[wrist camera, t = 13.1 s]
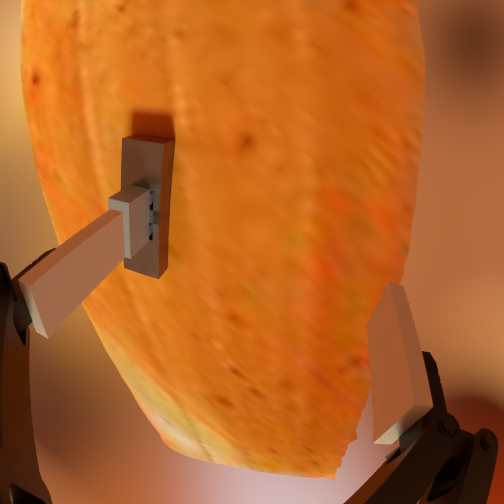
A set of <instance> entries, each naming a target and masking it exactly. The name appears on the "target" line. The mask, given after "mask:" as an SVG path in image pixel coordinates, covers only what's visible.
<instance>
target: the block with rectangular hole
mask: <svg viewBox="0 0 504 504" xmlns="http://www.w3.org/2000/svg"><path fill="white" fill-rule="evenodd" d="M174 145H175V140H173V139H167V138H160V137H152V136H145V135H137V134H135V135H131V136H128V137H125V138H122V160H121V190H123V189H125V188H126V187H128V186H130V185H132V186H137V187H142V188H147V189H150V191H154V200H153V203H152V204H151V205H150V208H149V223H153V233H152V234H151V235H150V236H149V242H148V243H147V244H146V245H145V246H144V247H142V248H141V249H140V250H139V251H138V252H137V253H136V254H135V255H134V256H133V257H132V258H131V259H129V258H126V257H125V259H124V268H126V269H129V270H132V271H135V272H138V273H141V274H144V275H147V276H150V277H153V278H156V279H159V278H160V277H161V276H162V274H163V273H164V272H165V271H166V269H167V260H168V229H169V209H170V193H171V179H172V166H173V155H174Z"/></svg>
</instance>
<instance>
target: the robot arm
mask: <svg viewBox="0 0 504 504" xmlns="http://www.w3.org/2000/svg"><path fill="white" fill-rule="evenodd" d="M124 259H125V248H124V226H123V212H121V211H117V210H113V209H110V210H109V211H107V212H106V213H105V214H103V215H102V216H100V217H99V218H97V219H96V220H94V221H93V222H92V223H90V224H89V225H87V226H86V227H85V228H83V229H82V230H80V231H79V232H78V233H76V234H75V235H74V236H72V237H71V238H70V239H68V240H67V241H66V242H64V243H63V244H62V245H60V246H59V247H58V248H54V249H51V250H49V251H47V252H45V253H44V254H42V255H41V256H40V257H39V258H38V260H37V259H36V260H35V261H34V262H32V264H30V265H29V266H27V267H26V268H25V269H24V270H23V271H21V272H20V273H19V274H18V275H17V276H15V277H14V278H13V279H12V280H11V277H10V274H9V271H8V268H7V265H6V264H5V263H3V262H0V504H12V503H13V504H52V501H51V497H50V494H49V491H48V489H47V487H46V485H45V483H44V482H43V480H42V478H41V476H40V472H39V467H38V461H37V455H36V449H35V443H34V435H33V426H32V417H31V403H30V384H29V383H30V382H29V346H30V343H29V342H30V329H29V327H28V326H29V325H30V323H32V322H33V324H34V326H35V329H36V332H38V333H40V334H41V335H43V336H45V337H46V338H49V337H50V336H51V335H52V334H53V333H54V332H55V331H56V329H57V328H58V327H59V326H60V325H61V324H62V323H63V322H64V321H65V319H66V318H67V317H68V316H69V315H70V314H71V313H72V312H73V311H74V310H75V309H76V308H77V306H78V305H79V304H80V303H81V302H82V301H83V300H84V299H85V298H86V297H87V296H88V295H89V294H90V293H91V292H92V291H93V290H94V289H95V288H96V287H97V286H98V285H99V284H100V283H101V282H102V280H103V279H104V278H105V277H106V276H107V275H108V274H109V273H110V272H111V271H112V270H113V269H114V268H115V267H116V266H118V265H119V264H120V263H121V262H122V261H123V260H124ZM367 333H368V343H369V354H370V367H371V383H372V403H373V443H378V444H392V443H393V442H394V441H396V440H397V439H398V438H399V441H400V446H399V447H398V448H397V449H395V450H394V451H393V452H391V453H390V454H389V455H387V456H386V458H388V459H387V460H386V461H385V462H384V463H383V464H382V466H380V468H379V469H378V470H377V471H376V472H375V473H374V474H373V475H372V476H371V477H370V478H369V479H368V481H366V482H365V483H364V484H363V486H361V487H360V489H358V490H357V491H356V492H355V493H354V494H353V495H352V496H351V497H350V498H349V499H348V500H347V501H346V502H345V503H344V504H417V502H418V501H419V500H420V501H419V503H418V504H486V503H487V499H488V495H489V491H490V487H491V483H492V478H493V473H494V469H495V464H496V458H497V452H498V441H497V437H496V436H495V434H494V433H493V432H492V431H491V430H490V429H486V428H483V429H480V430H479V431H478V432H477V433H475V434H472V433H469V432H466V431H464V430H461V429H460V426H459V423H458V421H457V420H456V419H455V417H454V416H452V415H451V414H449V413H447V409H446V404H445V399H444V394H443V390H442V385H441V383H440V377H439V375H438V369H437V365H436V362H435V360H434V359H433V357H432V355H431V354H430V352H424V351H421V347H420V343H419V339H418V335H417V332H416V328H415V324H414V320H413V317H412V313H411V310H410V306H409V303H408V300H407V297H406V294H405V290H404V287H403V286H402V285H399V284H395V283H392V282H389V283H388V285H387V287H386V289H385V291H384V293H383V295H382V297H381V299H380V301H379V303H378V305H377V307H376V309H375V310H374V312H373V314H372V316H371V318H370V320H369V322H368V323H367ZM420 498H421V499H420Z"/></svg>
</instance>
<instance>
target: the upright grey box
mask: <svg viewBox="0 0 504 504" xmlns="http://www.w3.org/2000/svg"><path fill="white" fill-rule="evenodd" d="M153 200H154V191H150V189H147V188H142V187H137V186H132V185H130V186H128V187H126V188H125V189H123V190H121V191H120V192H118V193H116V194H115V195H113V196H111V197H110V198H108V203H109V210H110V209H113V210H117V211H121V212H123V226H124V248H125V257H126V258H129V259H131V258H132V257H133V256H134V255H135V254H136V253H137V252H138V251H139V250H140V249H141V248H142V247H144V246H145V245H146V244H147V243H148V242H149V236H150V235H151V234H152V233H153V223H149V208H150V205H151V204H152V203H153Z"/></svg>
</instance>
